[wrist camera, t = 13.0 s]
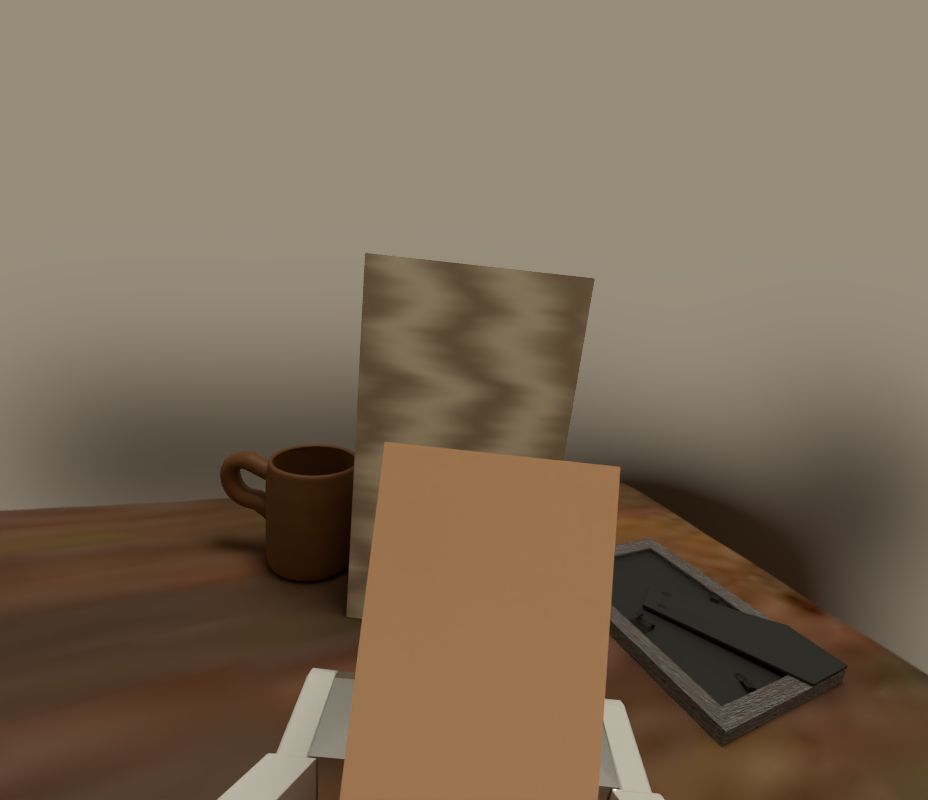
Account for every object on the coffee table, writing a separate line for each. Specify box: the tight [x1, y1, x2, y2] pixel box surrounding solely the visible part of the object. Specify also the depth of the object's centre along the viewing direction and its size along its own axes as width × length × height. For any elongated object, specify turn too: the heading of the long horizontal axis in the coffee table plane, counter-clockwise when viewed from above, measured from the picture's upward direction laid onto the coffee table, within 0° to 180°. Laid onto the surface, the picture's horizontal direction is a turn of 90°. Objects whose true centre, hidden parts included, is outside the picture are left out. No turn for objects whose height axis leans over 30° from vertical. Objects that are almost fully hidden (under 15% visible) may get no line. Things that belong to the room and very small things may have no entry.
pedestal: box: [346, 253, 594, 619], centre depth 37 cm, size 14×12×26 cm
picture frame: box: [609, 538, 847, 746], centre depth 38 cm, size 13×2×18 cm
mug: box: [220, 444, 355, 581], centre depth 40 cm, size 12×8×9 cm, turn 85°
